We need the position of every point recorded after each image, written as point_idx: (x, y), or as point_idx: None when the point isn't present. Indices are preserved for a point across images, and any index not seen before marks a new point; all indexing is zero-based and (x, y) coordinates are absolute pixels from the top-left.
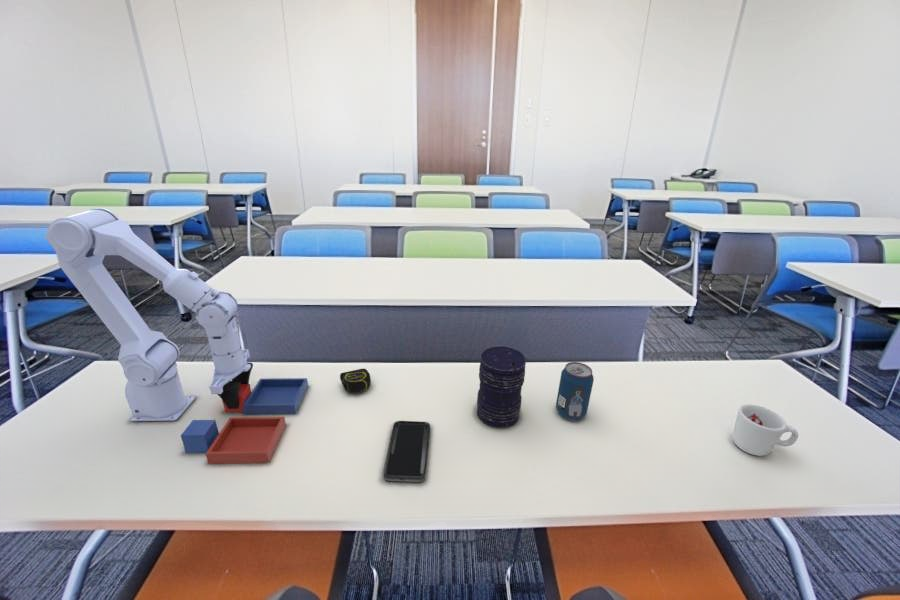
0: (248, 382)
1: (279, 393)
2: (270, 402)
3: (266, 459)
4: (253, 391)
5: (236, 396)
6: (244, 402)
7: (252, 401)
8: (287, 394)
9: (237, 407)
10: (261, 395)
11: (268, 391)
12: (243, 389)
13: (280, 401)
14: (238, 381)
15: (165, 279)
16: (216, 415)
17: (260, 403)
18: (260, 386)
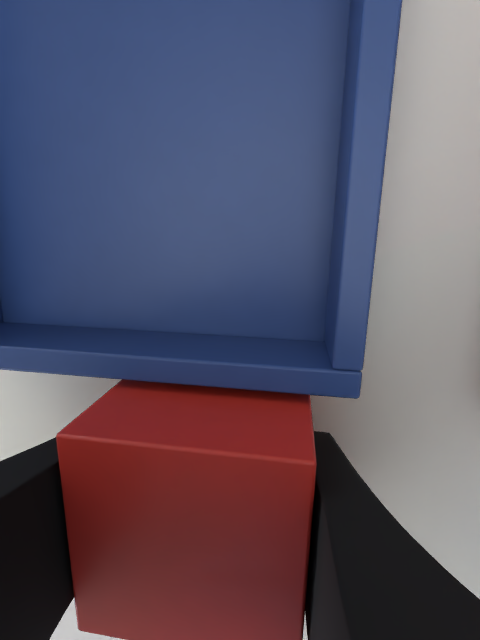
0: (22, 457)
1: (77, 137)
2: (210, 177)
3: None
4: (121, 362)
5: (408, 540)
6: (288, 397)
7: (213, 339)
8: (85, 43)
9: (330, 437)
10: (113, 297)
11: (58, 254)
12: (171, 477)
13: (194, 77)
14: (39, 583)
15: None
16: None
17: (222, 267)
18: (17, 333)
